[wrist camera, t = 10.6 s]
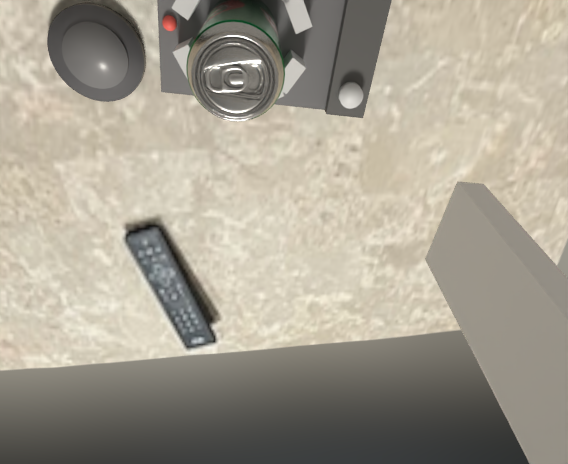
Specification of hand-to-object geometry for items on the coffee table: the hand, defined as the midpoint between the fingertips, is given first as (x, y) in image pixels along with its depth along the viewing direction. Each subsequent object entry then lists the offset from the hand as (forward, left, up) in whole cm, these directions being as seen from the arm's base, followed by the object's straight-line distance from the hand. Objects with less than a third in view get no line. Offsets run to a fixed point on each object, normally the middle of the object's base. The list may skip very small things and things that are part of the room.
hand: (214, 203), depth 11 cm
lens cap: (-12, -4, -29) cm, 31 cm away
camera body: (+2, 0, -29) cm, 29 cm away
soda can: (0, 0, -24) cm, 24 cm away
